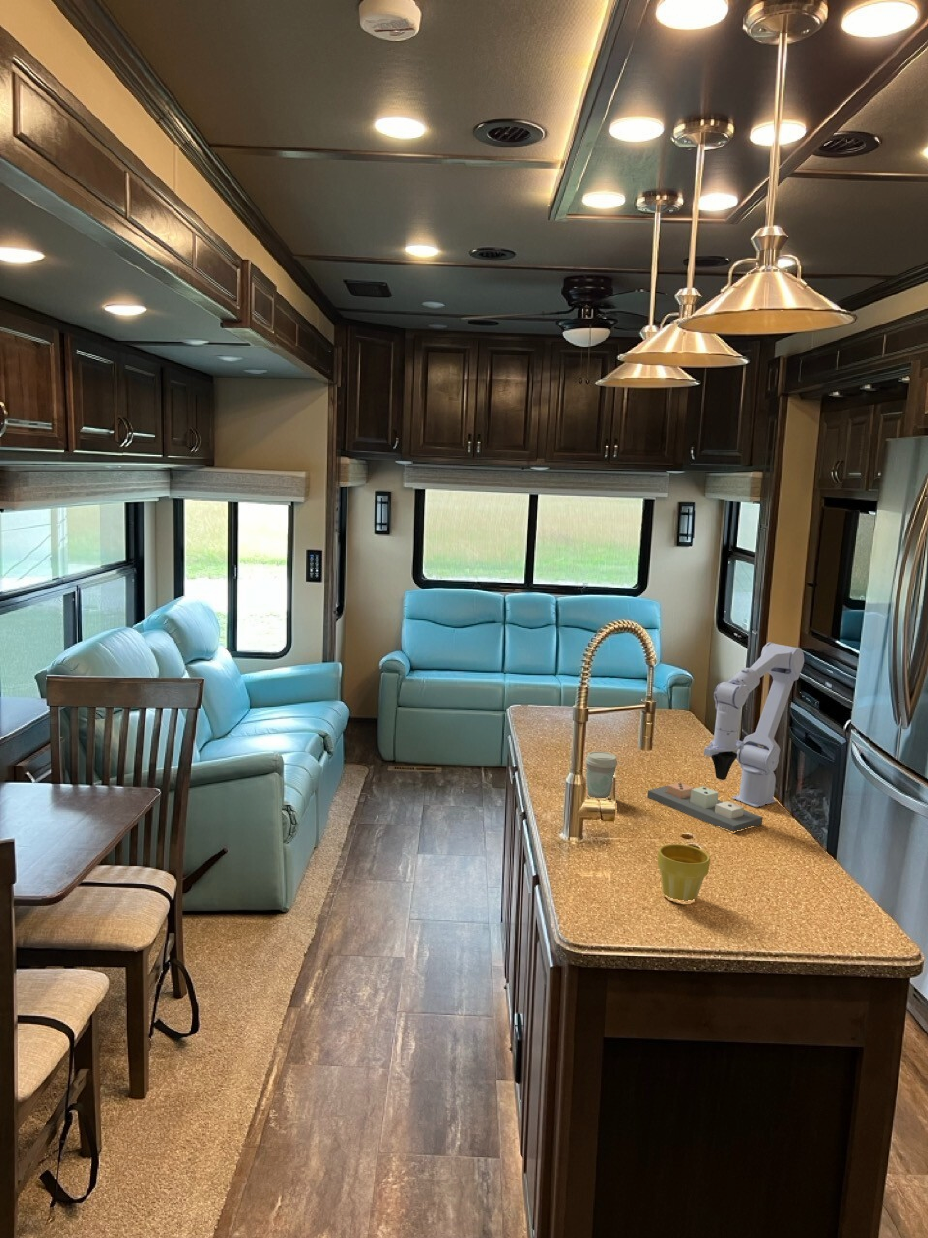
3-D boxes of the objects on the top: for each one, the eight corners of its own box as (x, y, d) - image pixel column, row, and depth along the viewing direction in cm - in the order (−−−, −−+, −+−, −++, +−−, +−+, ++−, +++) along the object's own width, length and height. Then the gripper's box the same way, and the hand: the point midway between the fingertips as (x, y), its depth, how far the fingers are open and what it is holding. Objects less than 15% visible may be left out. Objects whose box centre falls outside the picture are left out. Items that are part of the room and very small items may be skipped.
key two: (701, 800, 242) (703, 785, 242) (717, 806, 238) (718, 791, 238) (689, 803, 239) (691, 788, 239) (705, 810, 235) (706, 794, 235)
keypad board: (676, 790, 254) (676, 783, 253) (761, 824, 232) (762, 817, 231) (647, 797, 246) (648, 790, 246) (733, 833, 224) (734, 826, 224)
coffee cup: (577, 799, 241) (581, 756, 239) (588, 790, 249) (592, 748, 247) (607, 806, 237) (612, 763, 235) (618, 797, 245) (622, 754, 243)
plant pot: (668, 881, 195) (672, 838, 193) (713, 898, 189) (718, 854, 187) (645, 897, 187) (649, 852, 185) (691, 914, 181) (696, 869, 179)
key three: (677, 796, 249) (679, 781, 248) (692, 802, 245) (693, 787, 244) (665, 799, 246) (667, 784, 245) (680, 805, 242) (681, 790, 241)
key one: (725, 815, 236) (727, 800, 236) (742, 822, 232) (743, 806, 232) (713, 819, 233) (715, 803, 233) (730, 825, 229) (731, 810, 229)
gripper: (730, 721, 241) (724, 769, 244) (696, 728, 232) (691, 778, 235) (753, 728, 236) (747, 777, 238) (719, 735, 227) (713, 787, 229)
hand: (720, 778), depth 236 cm, fingers closed
